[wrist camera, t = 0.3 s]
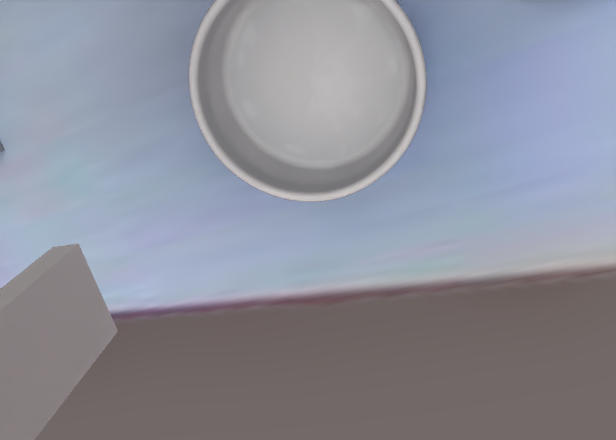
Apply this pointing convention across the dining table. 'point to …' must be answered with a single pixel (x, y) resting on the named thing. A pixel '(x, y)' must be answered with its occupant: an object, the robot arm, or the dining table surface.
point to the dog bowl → (307, 92)
